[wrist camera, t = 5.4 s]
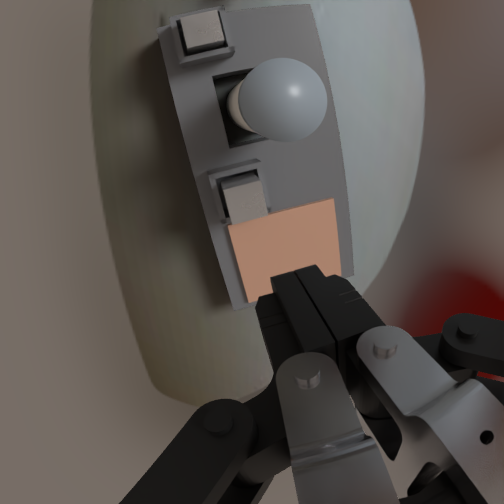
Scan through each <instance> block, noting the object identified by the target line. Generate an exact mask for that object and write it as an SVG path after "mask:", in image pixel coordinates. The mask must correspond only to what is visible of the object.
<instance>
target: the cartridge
mask: <svg viewBox="0 0 504 504" xmlns="http://www.w3.org/2000/svg"><path fill="white" fill-rule="evenodd" d="M226 108H227V113H228V115H229V117H230V119H231V120H232V122H233V123H234V124H236V125H237V126H238V127H240V128H242V129H245V130H248V131H251V132H255V133H257V134H259V135H261V136H263V137H265V138H268V139H271V140H274V141H279V142H293V141H297V140H301V139H303V138H305V137H307V136H309V135H310V134H311V133H313V132H314V131H315V130H316V129H317V128H318V127H319V125H320V124H321V122H322V121H323V119H324V116H325V113H326V110H327V93H326V90H325V87H324V84H323V82H322V80H321V79H320V77H319V76H318V75H317V73H316V72H315V71H314V70H313V69H311V68H310V67H309V66H307V65H306V64H304V63H302V62H300V61H298V60H294V59H290V58H275V59H270V60H268V61H265V62H263V63H261V64H259V65H258V66H256V67H255V68H254V69H253V70H252V71H251V72H250V73H248V74H247V76H246V77H245V78H244V79H243V80H242V81H241V82H240V83H239V84H237V85H236V86H235V87H234V88H233V89H232V90H231V92H230V93H229V95H228V98H227V103H226Z"/></svg>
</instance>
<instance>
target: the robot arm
mask: <svg viewBox="0 0 504 504" xmlns="http://www.w3.org/2000/svg"><path fill="white" fill-rule="evenodd" d="M270 281H271V286H272V290H273V293H270V294H266V295H263V296H259V298H258V301H257V304H256V307H255V309H256V313H257V317H258V320H259V324H260V328H261V331H262V335H263V339H264V342H265V346H266V349H267V352H268V355H269V359H270V362H271V365H272V368H273V372H274V374H273V378H272V380H271V382H270V384H269V385H268V387H267V388H266V389H265V390H264V391H263V392H262V393H260V394H259V395H257V396H256V397H254V398H252V399H250V400H249V401H247V402H245V403H241V402H239V401H236V400H232V399H219V400H214V401H211V402H209V403H206V404H205V405H203V406H201V407H200V408H199V409H198V410H197V411H196V412H195V413H194V414H193V415H192V416H191V418H190V419H189V420H188V421H187V423H186V424H185V425H184V427H183V428H182V429H181V430H180V432H179V433H178V434H177V435H176V437H175V438H174V439H173V440H172V442H171V443H170V444H169V445H168V446H167V448H166V449H165V450H164V451H163V453H162V454H161V455H160V456H159V457H158V459H157V460H156V461H155V462H154V463H153V465H152V466H151V467H150V468H149V469H148V471H147V472H146V473H145V474H144V475H143V476H142V478H141V479H140V480H139V481H138V482H137V484H136V485H135V486H134V487H133V488H132V489H131V490H130V492H129V493H128V494H127V495H126V496H125V497H124V499H123V500H122V501H121V502H120V503H119V504H258V503H259V501H260V500H261V498H262V496H263V495H264V493H265V491H266V490H267V488H268V486H269V485H270V483H271V481H272V480H273V477H274V475H276V474H278V473H280V472H281V471H283V470H285V469H286V468H288V467H289V466H292V472H293V477H294V482H295V487H296V492H297V496H298V501H299V504H504V382H500V381H496V380H492V379H487V378H484V377H479V376H477V374H478V371H480V372H484V373H488V374H493V375H497V376H501V377H504V321H501V320H496V319H491V318H487V317H483V316H478V315H474V314H468V313H462V314H456V315H453V316H451V317H450V318H449V319H447V320H446V321H445V323H444V325H443V329H442V333H438V334H432V335H426V336H420V337H411V336H410V335H409V334H408V333H407V332H406V331H404V330H402V329H400V328H397V327H393V326H386V325H385V324H384V323H383V321H382V320H381V319H380V318H379V317H378V315H377V314H376V313H375V312H374V311H373V309H372V308H371V307H370V306H369V305H368V303H367V302H366V301H365V300H364V299H362V296H361V295H360V294H359V293H358V292H357V291H356V290H355V288H354V287H353V286H352V285H351V283H350V282H349V281H348V280H346V279H344V278H342V277H340V276H338V275H336V274H334V275H330V276H327V277H326V276H325V275H324V274H323V273H322V271H321V270H320V269H319V267H318V266H317V265H316V264H314V265H310V266H307V267H304V268H300V269H297V270H294V271H290V272H286V273H283V274H279V275H276V276H272V277H270ZM349 395H351V397H352V399H353V401H354V403H355V408H354V406H353V403H352V401H351V399H350V396H349ZM363 430H364V431H365V433H366V434H367V435H366V434H365V433H364V431H363ZM397 496H398V497H397ZM398 498H399V499H398Z"/></svg>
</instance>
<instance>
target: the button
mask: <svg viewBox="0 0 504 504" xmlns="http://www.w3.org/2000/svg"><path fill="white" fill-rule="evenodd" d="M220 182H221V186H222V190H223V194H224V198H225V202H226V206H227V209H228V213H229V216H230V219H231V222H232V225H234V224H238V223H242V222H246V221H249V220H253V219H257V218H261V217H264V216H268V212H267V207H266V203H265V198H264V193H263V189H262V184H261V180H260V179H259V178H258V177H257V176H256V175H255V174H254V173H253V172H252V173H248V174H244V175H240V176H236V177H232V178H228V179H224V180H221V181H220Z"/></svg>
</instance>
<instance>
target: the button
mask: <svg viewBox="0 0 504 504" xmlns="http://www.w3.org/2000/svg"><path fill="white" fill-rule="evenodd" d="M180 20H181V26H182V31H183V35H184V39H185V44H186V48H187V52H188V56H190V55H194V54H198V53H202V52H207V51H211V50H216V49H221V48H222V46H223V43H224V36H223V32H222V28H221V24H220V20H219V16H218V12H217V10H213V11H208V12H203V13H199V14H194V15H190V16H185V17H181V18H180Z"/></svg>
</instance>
